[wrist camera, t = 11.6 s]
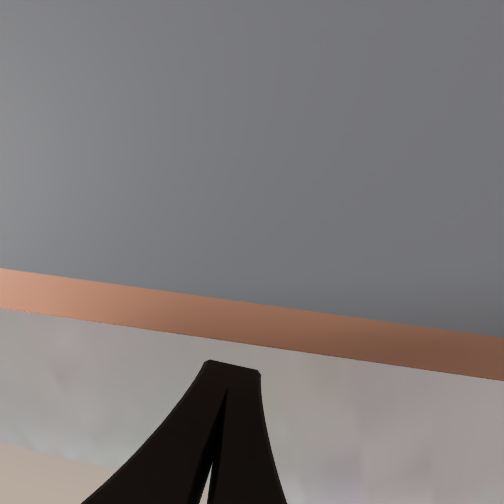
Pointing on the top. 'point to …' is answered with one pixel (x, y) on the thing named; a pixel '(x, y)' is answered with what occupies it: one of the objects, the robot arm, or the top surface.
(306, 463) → the top surface
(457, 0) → the storage box
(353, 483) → the top surface
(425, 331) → the drawer
